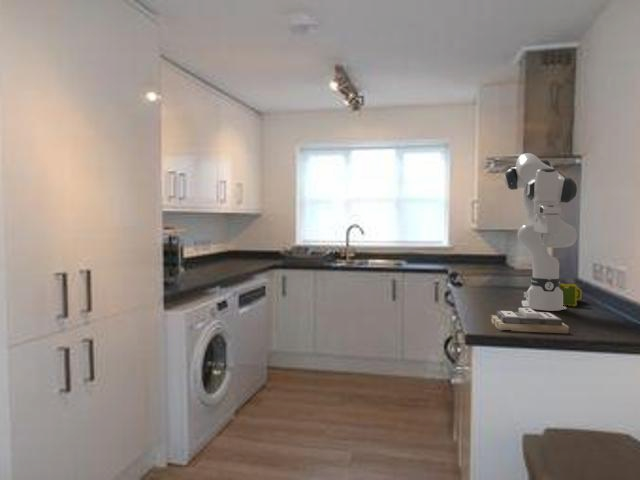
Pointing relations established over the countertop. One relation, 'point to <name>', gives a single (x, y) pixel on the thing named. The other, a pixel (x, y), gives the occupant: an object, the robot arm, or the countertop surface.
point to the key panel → (529, 324)
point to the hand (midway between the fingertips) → (544, 244)
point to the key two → (528, 313)
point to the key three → (547, 315)
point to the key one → (508, 314)
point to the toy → (570, 294)
